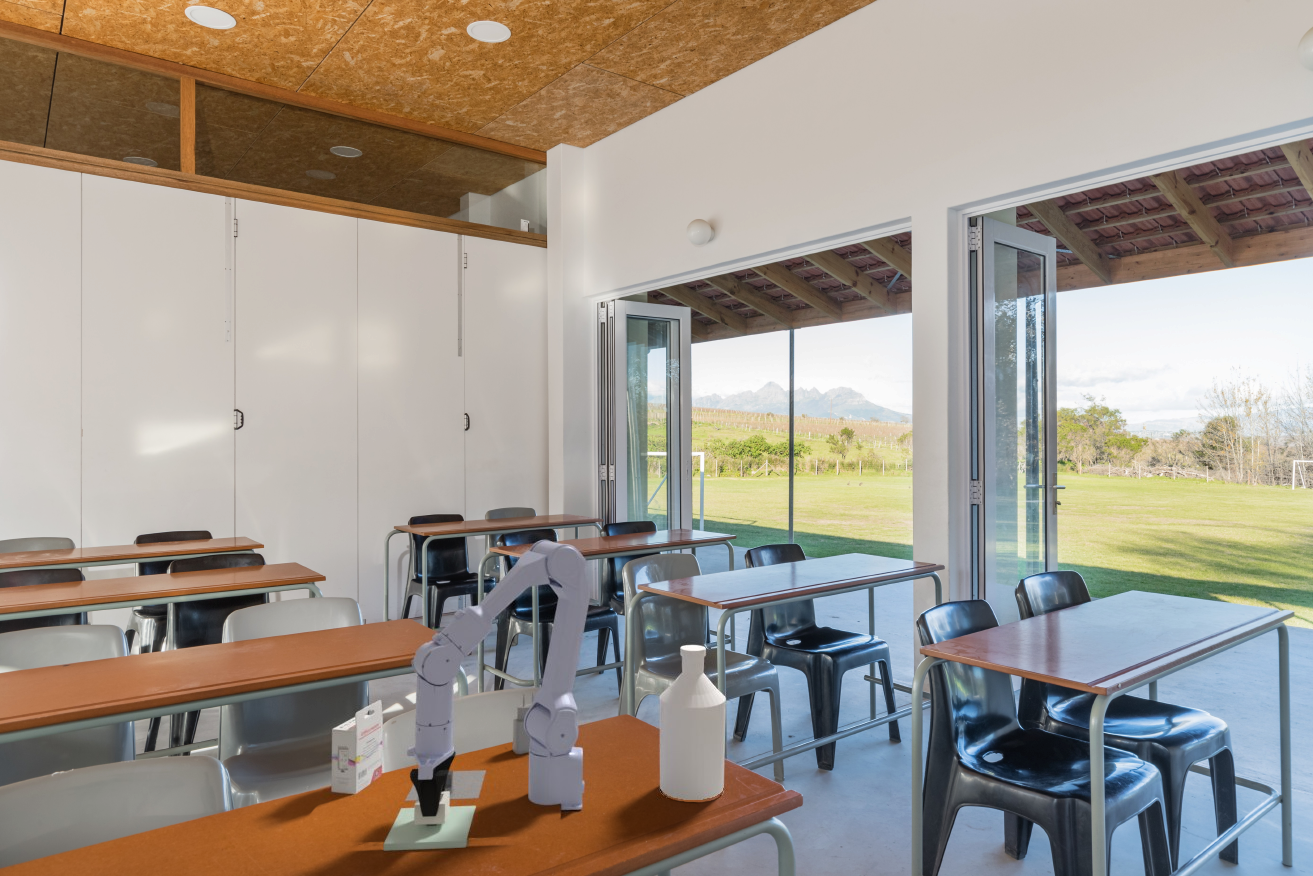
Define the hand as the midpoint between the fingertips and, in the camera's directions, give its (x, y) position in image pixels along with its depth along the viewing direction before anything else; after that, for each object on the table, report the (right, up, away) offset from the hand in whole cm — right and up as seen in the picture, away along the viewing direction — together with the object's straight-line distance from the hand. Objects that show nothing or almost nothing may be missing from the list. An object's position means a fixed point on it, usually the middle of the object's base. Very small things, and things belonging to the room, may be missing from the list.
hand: (432, 808), depth 122 cm
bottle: (+41, -5, +16) cm, 45 cm away
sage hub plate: (0, -3, 0) cm, 3 cm away
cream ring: (0, -1, 0) cm, 1 cm away
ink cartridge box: (-18, -4, +15) cm, 24 cm away
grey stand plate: (-2, -4, +15) cm, 15 cm away
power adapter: (+10, -5, +32) cm, 34 cm away
